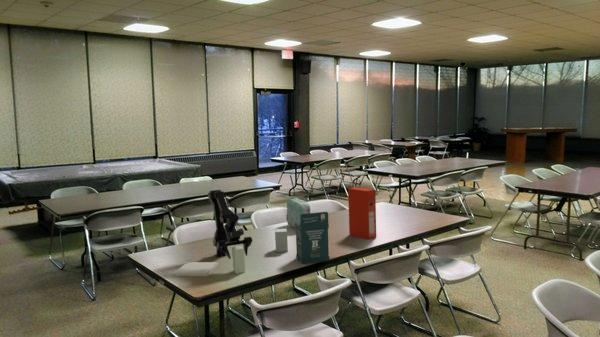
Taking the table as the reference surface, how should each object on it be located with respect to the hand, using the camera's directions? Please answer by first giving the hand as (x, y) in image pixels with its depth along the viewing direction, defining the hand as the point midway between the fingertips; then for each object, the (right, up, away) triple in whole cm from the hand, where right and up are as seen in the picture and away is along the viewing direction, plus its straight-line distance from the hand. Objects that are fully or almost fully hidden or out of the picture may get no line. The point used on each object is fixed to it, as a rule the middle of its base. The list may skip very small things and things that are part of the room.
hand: (238, 257), depth 238 cm
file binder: (+75, +1, +64) cm, 98 cm away
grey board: (-23, -8, +5) cm, 25 cm away
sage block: (0, -8, +1) cm, 8 cm away
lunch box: (+31, +3, +94) cm, 99 cm away
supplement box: (+21, -3, +37) cm, 43 cm away
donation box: (+39, -5, +20) cm, 44 cm away
